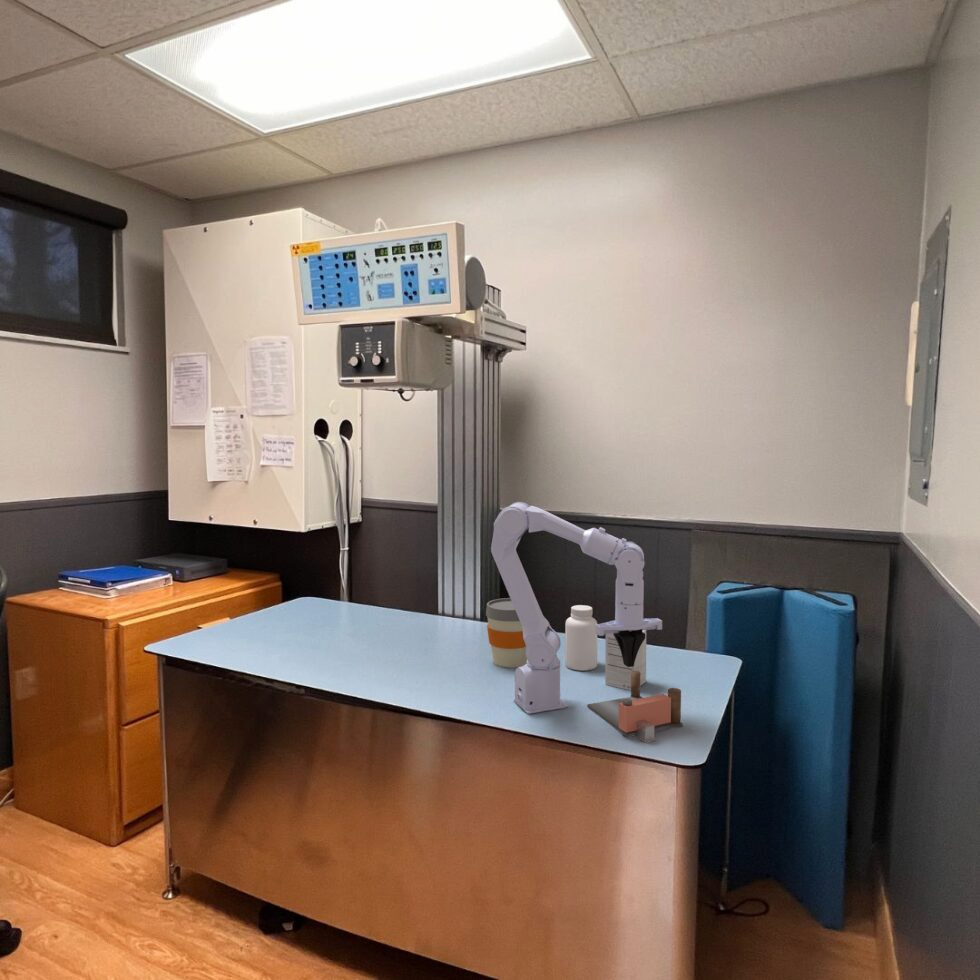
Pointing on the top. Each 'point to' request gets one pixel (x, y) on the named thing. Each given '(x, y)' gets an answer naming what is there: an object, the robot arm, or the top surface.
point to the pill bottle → (581, 639)
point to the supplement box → (622, 664)
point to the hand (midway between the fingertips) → (628, 665)
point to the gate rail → (644, 711)
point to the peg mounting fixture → (611, 708)
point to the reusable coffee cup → (505, 634)
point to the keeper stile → (645, 731)
